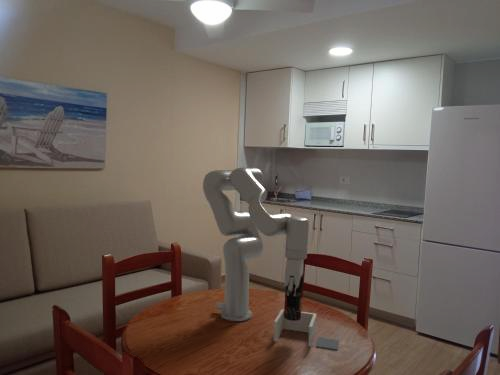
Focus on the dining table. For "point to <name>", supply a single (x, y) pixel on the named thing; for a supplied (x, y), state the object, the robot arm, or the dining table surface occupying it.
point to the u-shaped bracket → (296, 325)
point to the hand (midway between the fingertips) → (293, 302)
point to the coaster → (327, 343)
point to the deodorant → (295, 312)
